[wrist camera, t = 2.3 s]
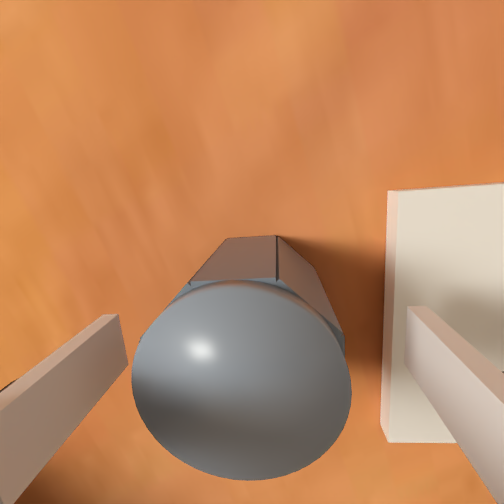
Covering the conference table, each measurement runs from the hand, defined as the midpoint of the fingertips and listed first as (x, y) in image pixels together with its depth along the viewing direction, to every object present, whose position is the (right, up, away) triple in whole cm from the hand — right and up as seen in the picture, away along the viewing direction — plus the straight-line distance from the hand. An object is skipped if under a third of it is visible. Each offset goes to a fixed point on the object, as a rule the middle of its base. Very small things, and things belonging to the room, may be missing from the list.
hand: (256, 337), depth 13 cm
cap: (0, +1, +6) cm, 6 cm away
